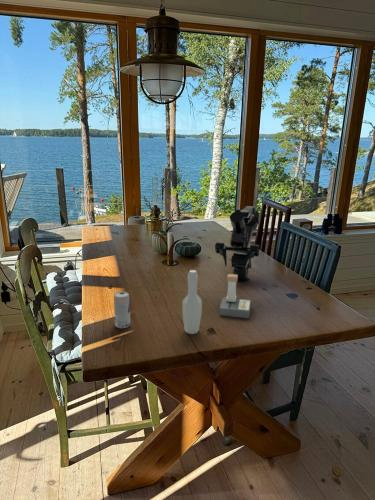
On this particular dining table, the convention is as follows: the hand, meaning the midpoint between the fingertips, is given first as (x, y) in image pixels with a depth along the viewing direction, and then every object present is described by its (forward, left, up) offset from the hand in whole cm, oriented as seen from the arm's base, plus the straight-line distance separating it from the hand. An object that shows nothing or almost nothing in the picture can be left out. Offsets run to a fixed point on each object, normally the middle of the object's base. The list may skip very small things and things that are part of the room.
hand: (235, 267), depth 150 cm
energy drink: (+51, -1, -14) cm, 52 cm away
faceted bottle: (+32, +15, -14) cm, 38 cm away
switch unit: (+9, +11, -13) cm, 19 cm away
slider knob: (+8, +8, -10) cm, 15 cm away
